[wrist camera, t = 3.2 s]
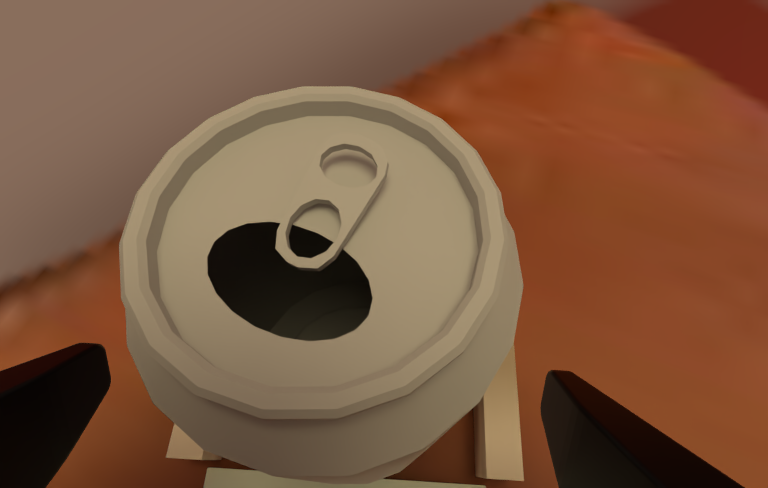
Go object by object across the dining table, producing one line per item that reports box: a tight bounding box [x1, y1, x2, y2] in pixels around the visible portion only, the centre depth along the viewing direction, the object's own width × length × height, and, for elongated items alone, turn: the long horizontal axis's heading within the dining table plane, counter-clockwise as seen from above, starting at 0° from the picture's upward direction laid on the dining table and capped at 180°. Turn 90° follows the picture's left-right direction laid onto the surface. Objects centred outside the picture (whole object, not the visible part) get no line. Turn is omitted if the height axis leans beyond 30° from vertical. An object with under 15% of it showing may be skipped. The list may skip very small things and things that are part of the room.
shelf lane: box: [166, 342, 524, 481], centre depth 17 cm, size 8×12×3 cm
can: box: [119, 87, 523, 484], centre depth 12 cm, size 8×8×12 cm
